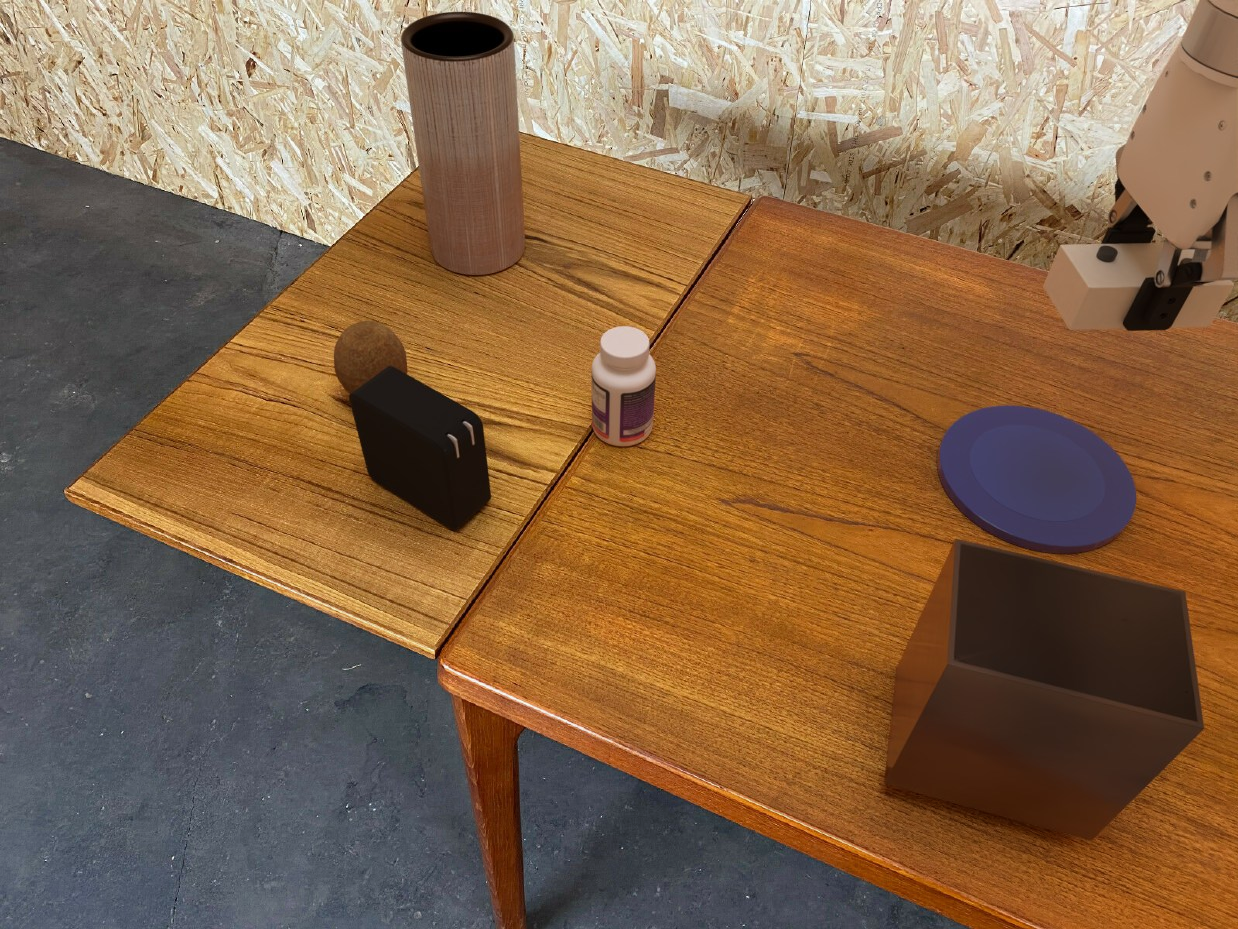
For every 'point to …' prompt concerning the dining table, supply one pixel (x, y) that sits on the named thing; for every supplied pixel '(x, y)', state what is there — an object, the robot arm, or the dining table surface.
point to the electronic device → (422, 446)
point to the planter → (467, 138)
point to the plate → (1036, 479)
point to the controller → (1120, 285)
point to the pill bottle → (623, 387)
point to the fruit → (366, 353)
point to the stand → (1042, 690)
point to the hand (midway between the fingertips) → (1127, 299)
